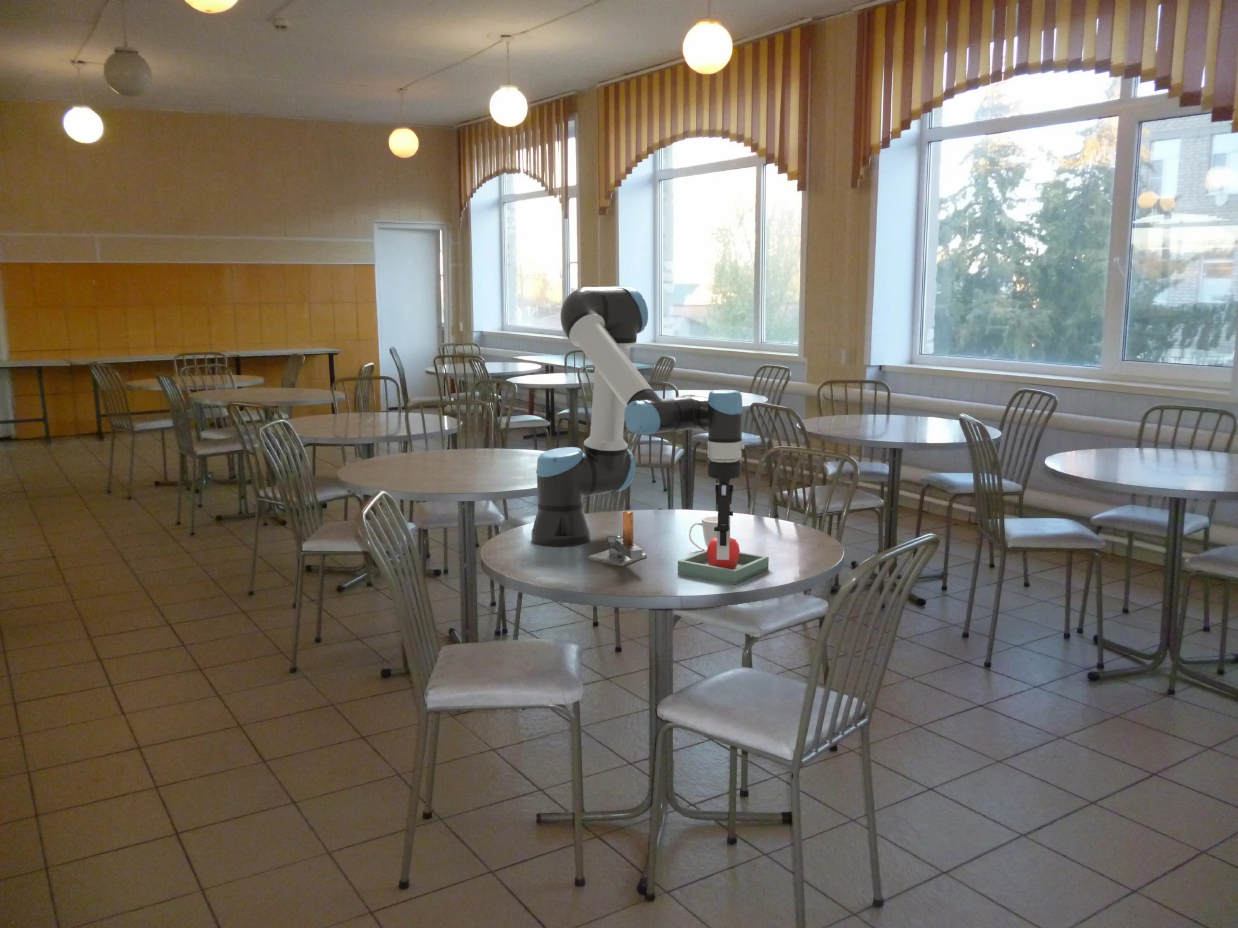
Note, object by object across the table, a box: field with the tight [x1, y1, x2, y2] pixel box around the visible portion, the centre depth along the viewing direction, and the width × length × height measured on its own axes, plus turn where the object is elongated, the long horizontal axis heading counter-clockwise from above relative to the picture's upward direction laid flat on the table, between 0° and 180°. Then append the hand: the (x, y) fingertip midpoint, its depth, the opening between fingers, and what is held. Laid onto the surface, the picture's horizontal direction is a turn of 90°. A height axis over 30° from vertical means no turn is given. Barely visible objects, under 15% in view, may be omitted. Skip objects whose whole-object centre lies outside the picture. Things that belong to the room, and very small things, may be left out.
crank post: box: [587, 546, 648, 567], centre depth 241 cm, size 10×10×3 cm
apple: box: [706, 537, 741, 569], centre depth 228 cm, size 8×8×8 cm
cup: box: [688, 515, 718, 551], centre depth 247 cm, size 7×10×8 cm
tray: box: [677, 550, 770, 586], centre depth 229 cm, size 15×15×3 cm
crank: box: [606, 510, 644, 559], centre depth 234 cm, size 16×5×10 cm, turn 18°
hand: (723, 551), depth 228 cm, fingers open, 13 cm apart
